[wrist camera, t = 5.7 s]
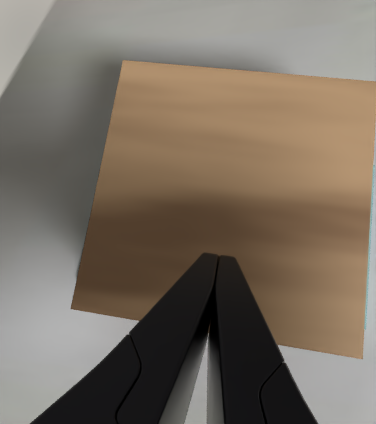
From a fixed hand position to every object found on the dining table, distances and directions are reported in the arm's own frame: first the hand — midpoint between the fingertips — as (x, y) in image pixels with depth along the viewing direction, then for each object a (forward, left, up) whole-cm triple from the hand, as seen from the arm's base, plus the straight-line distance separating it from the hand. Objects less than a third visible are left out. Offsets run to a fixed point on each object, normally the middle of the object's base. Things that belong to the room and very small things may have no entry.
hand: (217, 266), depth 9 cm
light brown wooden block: (-2, 0, -6) cm, 6 cm away
